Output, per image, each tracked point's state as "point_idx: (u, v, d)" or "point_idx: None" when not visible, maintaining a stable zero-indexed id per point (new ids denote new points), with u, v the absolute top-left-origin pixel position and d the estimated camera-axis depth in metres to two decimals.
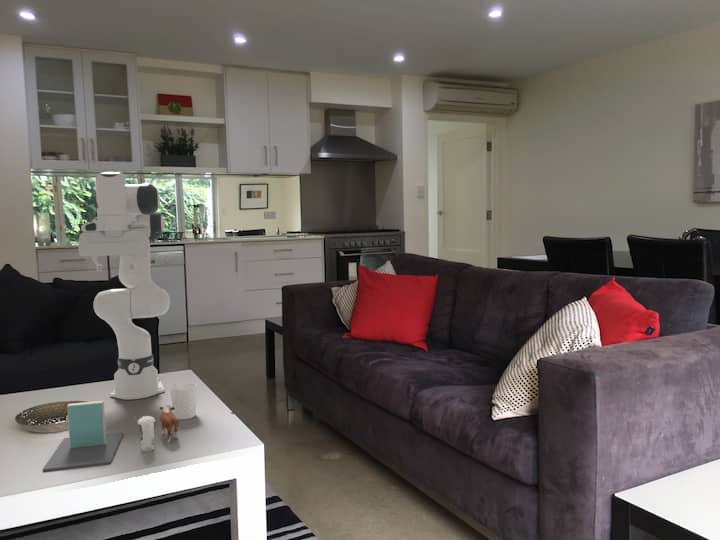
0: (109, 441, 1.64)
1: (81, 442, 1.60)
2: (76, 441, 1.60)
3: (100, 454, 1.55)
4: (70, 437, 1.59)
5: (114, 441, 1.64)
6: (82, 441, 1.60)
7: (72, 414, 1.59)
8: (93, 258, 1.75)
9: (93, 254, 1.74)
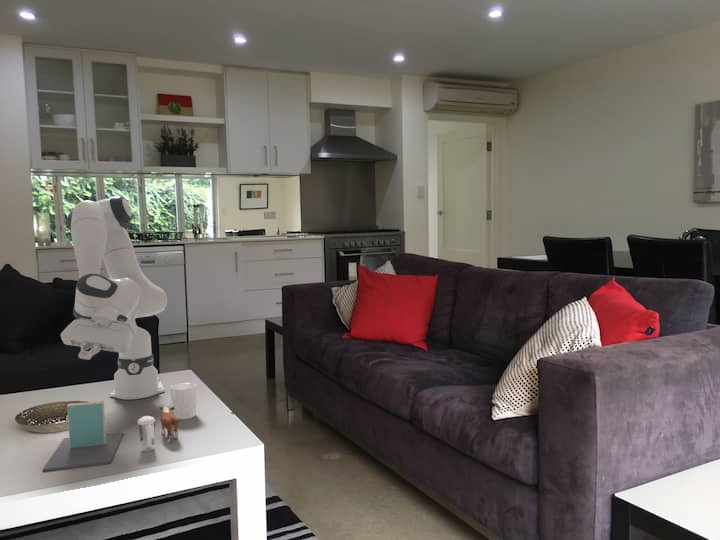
0: (109, 441, 1.64)
1: (81, 442, 1.60)
2: (76, 441, 1.60)
3: (100, 454, 1.55)
4: (70, 437, 1.59)
5: (114, 441, 1.64)
6: (82, 441, 1.60)
7: (72, 414, 1.59)
8: None
9: None
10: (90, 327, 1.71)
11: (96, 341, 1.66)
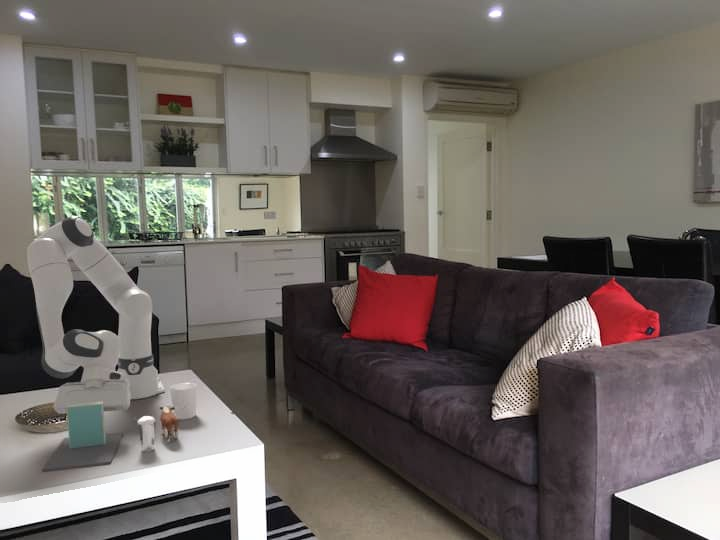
0: (109, 441, 1.64)
1: (81, 442, 1.60)
2: (76, 441, 1.60)
3: (100, 454, 1.55)
4: (70, 437, 1.59)
5: (114, 441, 1.64)
6: (82, 441, 1.60)
7: (71, 415, 1.58)
8: None
9: None
10: (82, 391, 1.67)
11: None
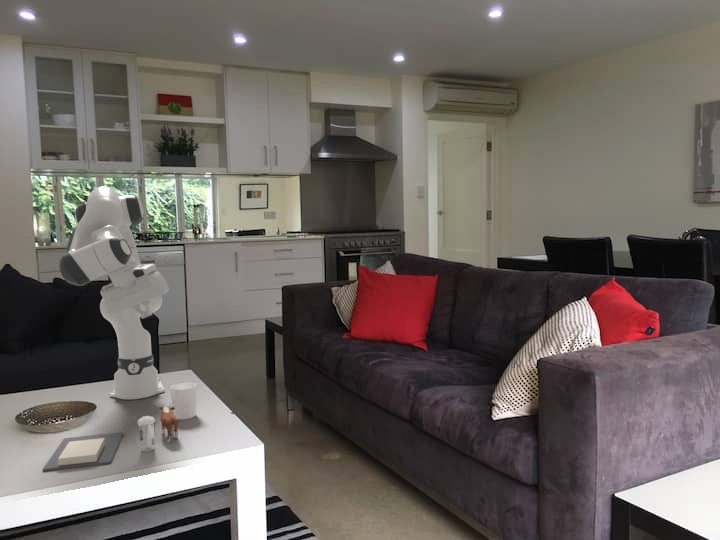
0: (109, 441, 1.64)
1: None
2: None
3: (100, 454, 1.55)
4: None
5: (114, 441, 1.64)
6: None
7: None
8: None
9: None
10: (122, 293, 1.77)
11: (142, 301, 1.77)
